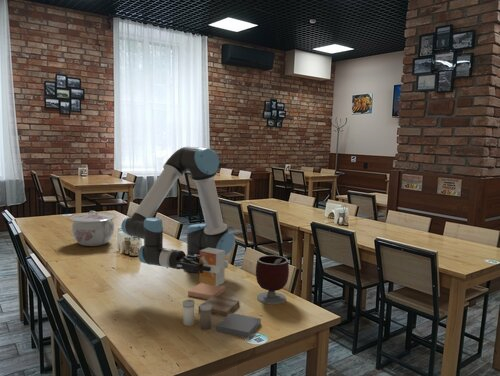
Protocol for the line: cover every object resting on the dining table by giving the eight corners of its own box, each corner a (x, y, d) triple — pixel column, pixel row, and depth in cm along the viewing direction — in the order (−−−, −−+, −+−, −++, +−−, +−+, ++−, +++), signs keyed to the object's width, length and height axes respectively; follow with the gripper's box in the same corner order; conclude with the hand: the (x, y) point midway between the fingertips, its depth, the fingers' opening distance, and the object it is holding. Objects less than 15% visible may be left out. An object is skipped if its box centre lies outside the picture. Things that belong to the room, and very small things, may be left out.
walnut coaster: (212, 300, 175) (212, 295, 175) (239, 305, 171) (239, 300, 170) (198, 311, 164) (198, 306, 164) (226, 316, 160) (226, 311, 159)
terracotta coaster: (201, 286, 191) (201, 282, 190) (225, 290, 186) (225, 286, 186) (187, 295, 180) (187, 291, 179) (212, 300, 175) (212, 295, 175)
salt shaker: (186, 319, 156) (186, 298, 155) (196, 321, 154) (196, 300, 153) (180, 324, 152) (180, 303, 151) (190, 326, 151) (191, 305, 149)
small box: (198, 282, 164) (199, 250, 163) (208, 278, 170) (208, 246, 168) (215, 286, 160) (216, 253, 159) (224, 282, 166) (225, 250, 164)
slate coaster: (231, 317, 159) (231, 312, 159) (260, 323, 154) (260, 318, 154) (216, 331, 148) (216, 325, 148) (248, 338, 143) (248, 332, 143)
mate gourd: (250, 294, 183) (251, 249, 180) (279, 291, 187) (280, 247, 185) (264, 308, 168) (265, 260, 166) (295, 304, 173) (297, 257, 171)
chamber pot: (71, 239, 268) (70, 207, 265) (116, 237, 276) (116, 206, 273) (66, 251, 241) (65, 215, 239) (116, 248, 249) (116, 214, 247)
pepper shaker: (203, 323, 153) (203, 302, 152) (213, 325, 152) (213, 304, 151) (197, 328, 149) (197, 306, 148) (207, 330, 148) (208, 308, 147)
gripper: (186, 261, 181) (234, 269, 172) (158, 274, 163) (211, 284, 154) (186, 244, 180) (234, 251, 171) (158, 256, 162) (211, 264, 153)
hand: (223, 267), depth 162 cm, fingers closed on small box, 7 cm apart
